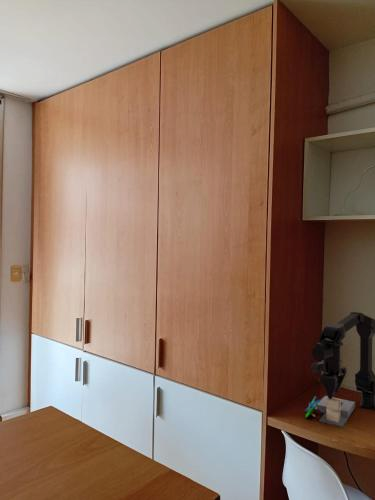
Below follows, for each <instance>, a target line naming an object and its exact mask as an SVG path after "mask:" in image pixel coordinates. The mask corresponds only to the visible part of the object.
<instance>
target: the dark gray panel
mask: <svg viewBox="0 0 375 500" xmlns="http://www.w3.org/2000/svg"><path fill="white" fill-rule="evenodd" d="M348 420H349V417H348V418H347V417H343V416H341V419H340V420H339V422H334V421H330V420H326V412H324V415H322V416H321V418H320V419H319V420H318V421H319V422H320V423H323V424H328V425H330V426H331V425H332V426H335V427H339V428H343V427H344V426H345V424H346V423H347V422H348Z"/></svg>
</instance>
